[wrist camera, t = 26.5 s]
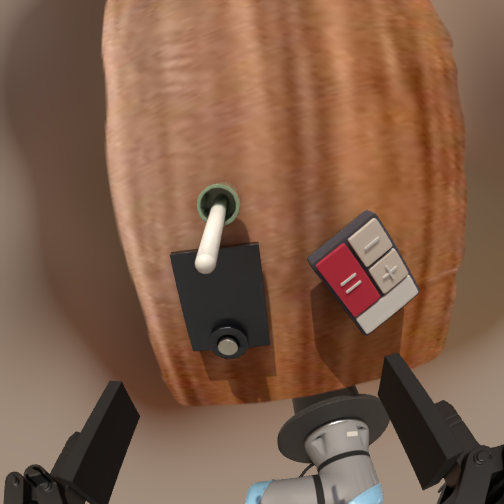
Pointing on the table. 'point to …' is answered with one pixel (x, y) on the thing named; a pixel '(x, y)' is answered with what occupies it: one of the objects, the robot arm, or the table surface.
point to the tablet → (223, 298)
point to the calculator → (365, 272)
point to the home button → (228, 345)
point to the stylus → (212, 236)
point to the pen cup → (209, 195)
